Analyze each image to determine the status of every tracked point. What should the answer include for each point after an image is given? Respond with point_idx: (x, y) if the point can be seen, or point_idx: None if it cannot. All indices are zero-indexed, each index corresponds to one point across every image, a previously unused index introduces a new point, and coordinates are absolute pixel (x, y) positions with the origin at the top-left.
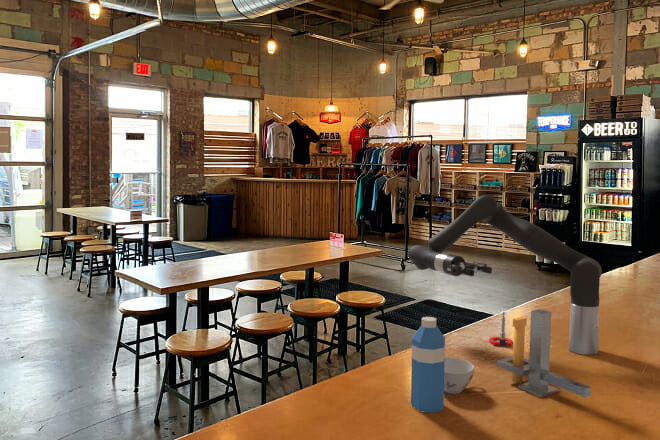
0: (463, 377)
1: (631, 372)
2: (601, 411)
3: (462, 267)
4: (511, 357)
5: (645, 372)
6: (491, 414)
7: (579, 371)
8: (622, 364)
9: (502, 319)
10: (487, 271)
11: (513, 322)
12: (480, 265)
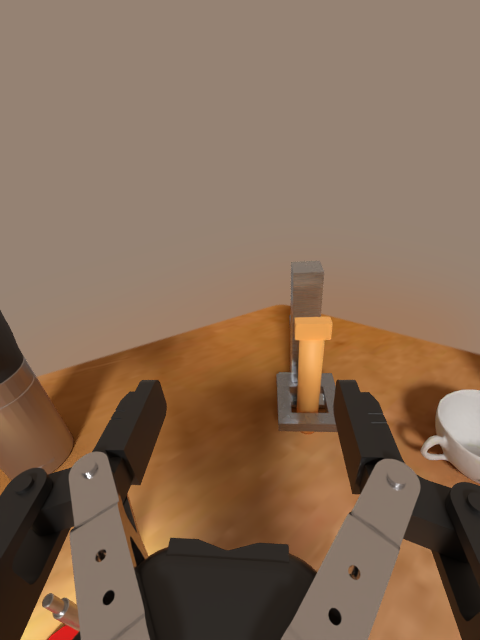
0: (476, 398)
1: (125, 367)
2: (281, 333)
3: (398, 497)
4: (299, 421)
5: (113, 360)
6: (431, 374)
7: (174, 400)
8: (93, 385)
9: (72, 608)
10: (156, 424)
11: (331, 329)
12: (112, 478)
